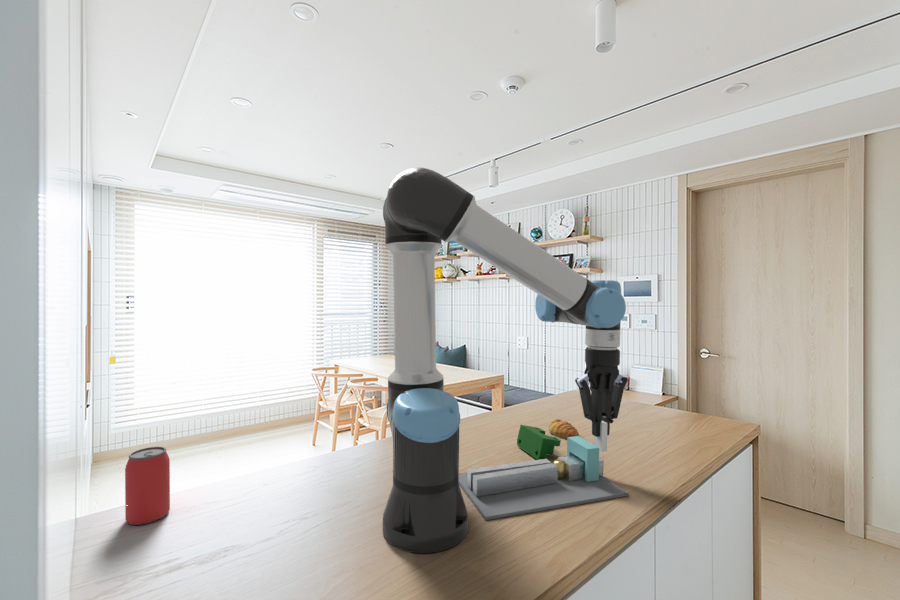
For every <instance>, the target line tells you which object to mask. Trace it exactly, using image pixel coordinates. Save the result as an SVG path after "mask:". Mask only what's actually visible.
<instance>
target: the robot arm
mask: <svg viewBox="0 0 900 600" xmlns="http://www.w3.org/2000/svg"><path fill="white" fill-rule="evenodd" d="M382 207H383V208H382V217H383V221H384V231H385V233H384V234H385V235H384V238H385V248H387V250H388V251H389V252H390V253H391V254H392V261H393V262H392V263H393V265H392V266H393V271H392V272H393V322H394V324H393V326H394V328H393V329H394V333H393V334H394V370H393V372H392V373H390V374H389V376H388V378H387V403H386V408H385V409H386V416H387V420H388V423H389V426H390V427H389V428H390V432H391V437H392V487H391V490H390V492H389V495H388V499H387V502H386V505H385V508H384V511H383V514H382V534H383V537H384V538H385V540H386V542H388V543H389V544H390V545H391V546H393V547H396V548H398V549H399V550H402V551H405V552H409V553H416V554H432V553H438V552H442V551H446V550H448V549H451V548H453V547H455V546H456V545H459V543H460V542H462V541H463V540H464V539H465V537H467V535H468V531H469V514H468V512H469V511H468V509H467V506H466V503H465V501H464V496H463V494H462V493H463V492H462V490H461V486H460V485H459V472H460V469H459V468H460V466H459V465H460V424H461V414H460V406H459V402H458V400H457V398H456V397H455V396H454V395H453V394H451V393H449V392H447V391H445V389H444V387H445V386H444V375H443V373H441V371H439V370H438V368H437V350H436V349H437V338H436V334H437V333H436V332H437V331H436V329H437V328H436V327H437V326H436V277H435V276H436V274H435V273H436V270H435V266H436V265H435V263H436V262H435V255H436V253H437V252H438V251H439V250H440V248H441V247H442V244H443V243H442V241H443V242H445V243H448V242H452V241H453V242H455V243H456V244H458V245H460V246H461V247H463V248H465V249H466V250H468V251H469V252H471V253H472V254H474V255H476V256H477V257H479V258H480V259H482V260H483V261H486V262H487V263H488V264H490V265H492V266H493V267H494V268H496V269H498V271H501V272H503V273H504V274H506V275H508V276H509V277H510V278H512V279H514V280H515V281H516V282H518V283H520V284H521V285H523V286H525V287H526V288H528V289H530V291H533V292H534V293H536V298H535V313H536V316H537V317H538V319H539V320H540V321H541V322H543V323H545V322H546V323H552V324H553V323H566V324H574V325H580V326H585V332H584V333H585V334H584V335H585V336H584V337H585V339H584V345H585V346H587V347H586V348H585V350H584V354H585V355H584V362H585V365H586V367H585V370H584V372H583V373H584V374H583V375H582V376H581V377H576V378H575V380H574V382H575V384H576V386H577V387H578V390H579V397H580V401H581V406H582V407H581V408H582V412H583V417H584V418H585V419H587V420H589V421H591V434H592V436H593V445H595V446H597V447H599V453H600V452H601V453H604V452H608V436H610V431H611V429H610V428H611V427H610V426H611V425H610V424H613V423H614V422H615V421H614V419H615V420H616V419H618V417H619V413H620V408H621V403H622V399H623V393H624V390H625V387H626V385H627V383H628V382H629V379H628V377H627V376H623V375H622V374H620V370H619V368H618V366H619V365H620V364H621V351H620V349H618V348H620V346H621V322H622V320H623V319H624V317H625V314H626V312H627V310H626V309H627V304H626V301H625V298H624V296H623V295H622V286H621V283H620V281H618V280H614V279H613V280H612V279H611V280H609V279H608V280H607V279H606V280H604V279H602V280H598V279H597V280H595V279H594V280H592V279H591V280H589V279H588V278H586V277H585V276H583V275H582V274H580V273H578V272H577V271H576V270H574V269H573V268H571V267H570V266H568V265H566V264H565V263H564V262H562V261H561V260H559V259H558V258H557V257H555V256H554V255H552V254H550V252H547V251H546V250H545V249H543V248H541V246H538V245H537V244H536V243H534V242H533V241H532V240H530V239H528V238H527V237H525V236H524V235H522V234H521V233H519V232H517V231H516V230H515V229H513V228H512V227H510V226H509V225H507V224H506V223H504V222H503V221H501V219H499V218H497V217H496V216H494V215H492V213H489V212H488V211H486V210H485V209H483V208H482V207H481V206H479V205H478V204H477V201H476V197H475V195H473V194H472V193H470V192H469V191H467V190H466V189H464V188H463V186H462V187H461V186H460V185H459V184H457V183H455V181H452V180H451V179H449V178H448V177H446V176H444V175H443V174H441V173H440V172H437V171H435V170H433V169H429V168H425V167H412V168H408V169H405V170H403V171H401V172H400V173H399V174H397V175H396V176H395V177H394V178H393V180H392V182H391V183H390V185H389V187H388V190H387V195H386V198H385V200H384V202H383V206H382Z"/></svg>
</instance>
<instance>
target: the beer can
mask: <svg viewBox="0 0 900 600" xmlns="http://www.w3.org/2000/svg"><path fill="white" fill-rule="evenodd" d="M170 461H171V460H170V457H169V454H168V453H167V448H166V447H163V446H151V447H150V446H149V447H144V448H141V449H138V450H135V451H133V452H131V453H130V454H129V455H128V460H127V462H126V465H125V468H124V479H125V480H124V483H125V484H124V489H125V491H124V494H125V496H124V499H125V503H124V504H125V521H126V523H127V524H129V525H133V526H139V525H140V526H141V525H147V524H151V523H153V522H156V521H159V520H160V519H162V518H164V517H165V516H166V515H168V513H169V512H170V509H171V500H170V499H171V494H170V493H171V491H170V488H171V487H170V485H171V484H170V482H171V481H170V477H171V476H170V475H171V472H170V471H171V469H170V464H171V463H170ZM126 505H128V506H126Z"/></svg>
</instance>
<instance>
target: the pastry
mask: <svg viewBox="0 0 900 600" xmlns="http://www.w3.org/2000/svg"><path fill="white" fill-rule="evenodd" d="M548 431H549V433H550V434H552V435H553V436H554V437H557V438H559V439H560V438H561V439H563V440H567V437H574V436H579V437H580V434H579V432H578V430H577V429H576V427H575V426H573V425H572V423H569V422H568V421H565V420H564V421H563V420H562V419H559V418H557V419H554V420H552V421H551V422H550V424H549V425H548Z"/></svg>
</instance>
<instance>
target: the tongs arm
mask: <svg viewBox="0 0 900 600" xmlns="http://www.w3.org/2000/svg"><path fill="white" fill-rule="evenodd" d="M557 476H558V467H557V466H556V465H554V464H553V463H550V464H543V465H537V466H530V467H524V468H517V469H511V470H505V471H498V472H492V473H485V474H479V475H473V493H474V494H475V495H476V497H479V496H485V495H490V494H496V493H502V492H508V491H513V490H519V489H525V488H530V487H536V486H542V485H548V484H553V483H557Z"/></svg>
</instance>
